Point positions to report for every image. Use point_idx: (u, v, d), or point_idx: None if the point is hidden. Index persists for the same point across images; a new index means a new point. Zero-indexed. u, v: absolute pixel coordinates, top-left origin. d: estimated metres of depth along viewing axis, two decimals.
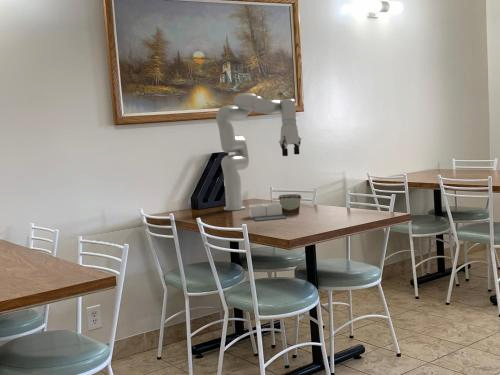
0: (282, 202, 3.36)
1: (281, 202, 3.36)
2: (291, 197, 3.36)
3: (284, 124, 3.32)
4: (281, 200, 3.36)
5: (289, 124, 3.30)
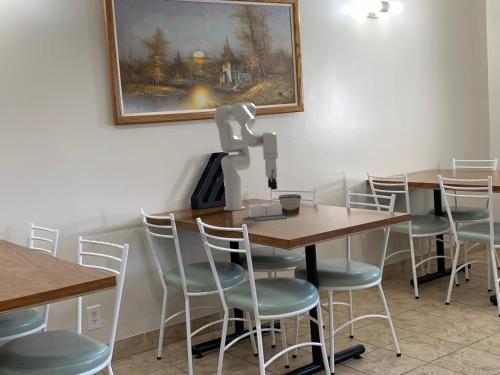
0: (282, 202, 3.36)
1: (281, 202, 3.36)
2: (291, 197, 3.36)
3: (271, 157, 3.31)
4: (281, 200, 3.36)
5: (276, 157, 3.32)
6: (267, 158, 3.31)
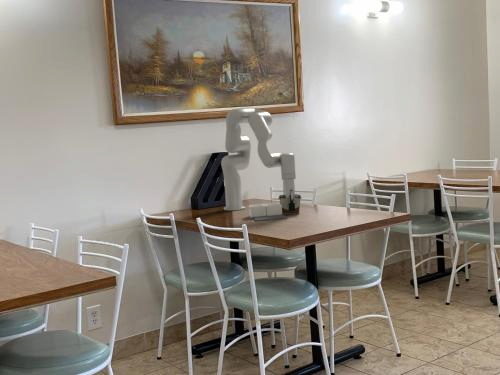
0: (282, 202, 3.36)
1: (281, 202, 3.36)
2: None
3: (289, 178, 3.34)
4: (281, 200, 3.36)
5: (294, 178, 3.35)
6: (285, 178, 3.34)
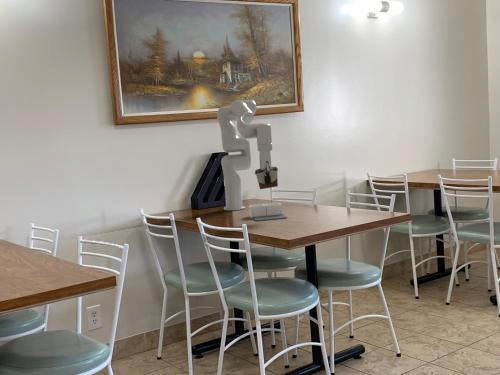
0: (259, 177, 3.24)
1: (258, 177, 3.24)
2: None
3: (265, 149, 3.22)
4: (258, 175, 3.24)
5: (270, 149, 3.23)
6: (261, 150, 3.22)
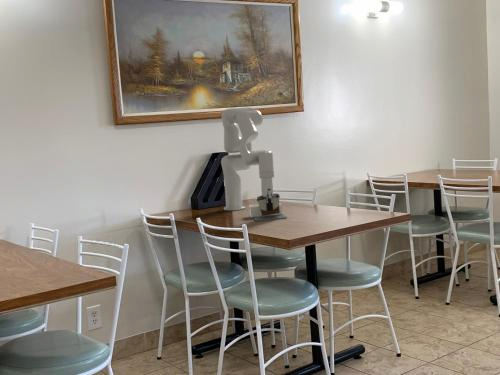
0: (260, 204, 3.25)
1: (260, 204, 3.25)
2: None
3: (267, 176, 3.23)
4: (260, 202, 3.25)
5: (272, 176, 3.24)
6: (263, 177, 3.23)
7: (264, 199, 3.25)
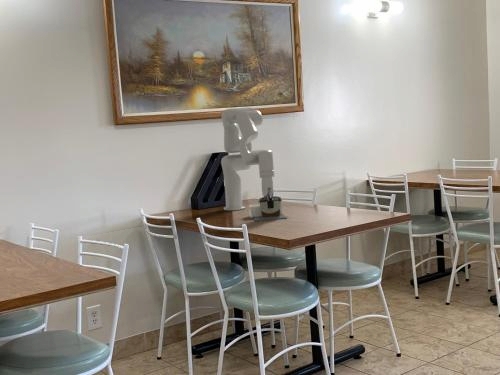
0: (262, 206, 3.25)
1: (261, 206, 3.25)
2: None
3: (267, 176, 3.22)
4: (261, 204, 3.25)
5: (272, 175, 3.23)
6: (263, 176, 3.23)
7: (266, 201, 3.25)
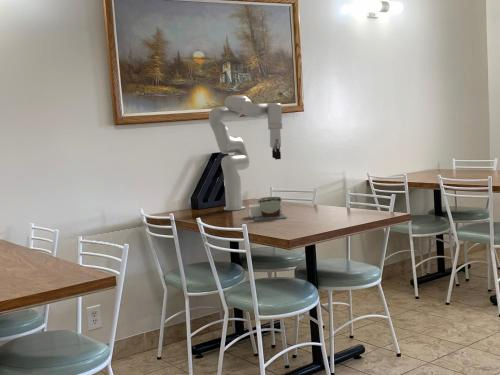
0: (262, 206, 3.26)
1: (261, 206, 3.26)
2: (271, 200, 3.26)
3: (275, 128, 3.34)
4: (261, 204, 3.26)
5: (280, 128, 3.35)
6: (271, 128, 3.35)
7: (266, 201, 3.26)
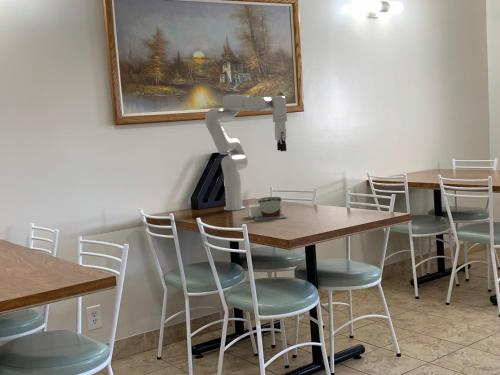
0: (262, 206, 3.26)
1: (261, 206, 3.26)
2: (271, 200, 3.26)
3: (280, 120, 3.40)
4: (261, 204, 3.26)
5: (285, 120, 3.41)
6: (277, 121, 3.41)
7: (266, 201, 3.26)
